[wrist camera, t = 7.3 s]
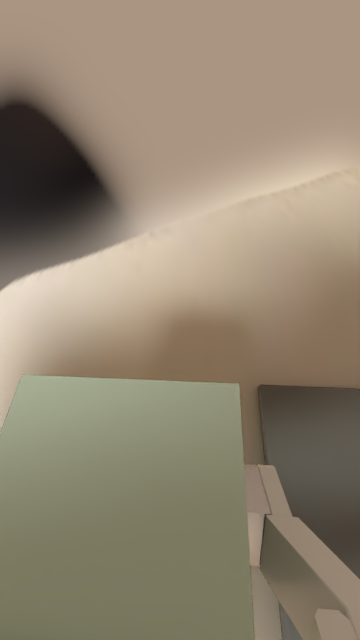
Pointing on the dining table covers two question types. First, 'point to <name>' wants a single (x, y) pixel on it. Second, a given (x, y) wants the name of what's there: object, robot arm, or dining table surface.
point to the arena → (316, 465)
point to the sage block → (123, 511)
